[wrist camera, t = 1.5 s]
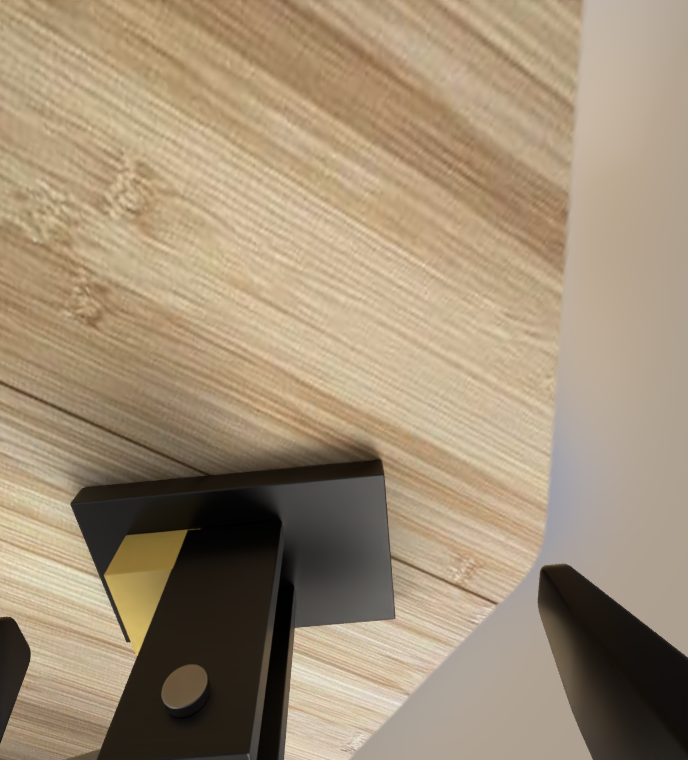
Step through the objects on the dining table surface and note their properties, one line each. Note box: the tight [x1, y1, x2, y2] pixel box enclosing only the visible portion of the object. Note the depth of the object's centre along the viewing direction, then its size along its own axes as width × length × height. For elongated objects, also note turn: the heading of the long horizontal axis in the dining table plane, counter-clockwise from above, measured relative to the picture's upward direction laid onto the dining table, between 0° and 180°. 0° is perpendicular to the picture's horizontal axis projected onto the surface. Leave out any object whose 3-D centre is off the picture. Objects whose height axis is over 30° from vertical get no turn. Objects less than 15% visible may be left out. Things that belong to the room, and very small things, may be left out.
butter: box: [104, 528, 202, 656], centre depth 22 cm, size 5×4×2 cm
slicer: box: [71, 460, 395, 760], centre depth 20 cm, size 14×9×11 cm, turn 96°
